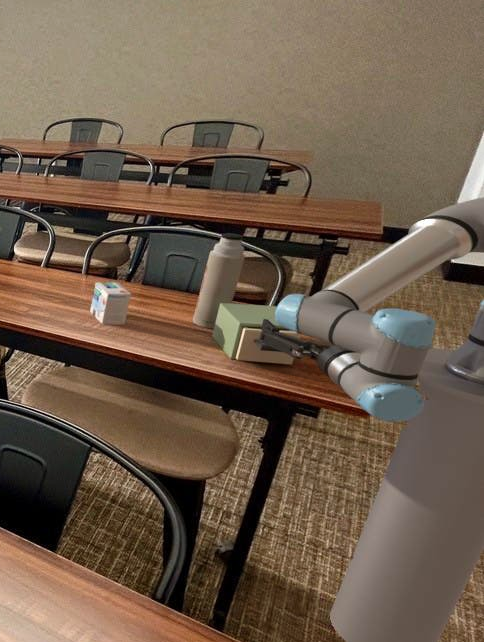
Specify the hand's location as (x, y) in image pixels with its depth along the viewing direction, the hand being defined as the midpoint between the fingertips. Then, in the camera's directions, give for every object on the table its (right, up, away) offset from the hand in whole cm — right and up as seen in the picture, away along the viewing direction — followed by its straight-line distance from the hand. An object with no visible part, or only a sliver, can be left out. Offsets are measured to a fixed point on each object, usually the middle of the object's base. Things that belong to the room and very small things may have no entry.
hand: (300, 326), depth 134 cm
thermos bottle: (+12, -1, +41) cm, 42 cm away
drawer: (+7, -9, +19) cm, 23 cm away
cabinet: (+9, -8, +24) cm, 27 cm away
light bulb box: (-14, 0, +49) cm, 51 cm away
